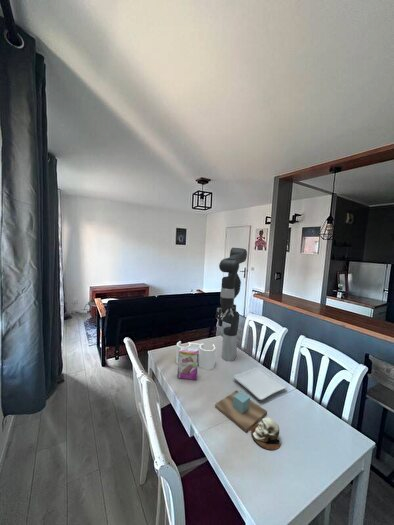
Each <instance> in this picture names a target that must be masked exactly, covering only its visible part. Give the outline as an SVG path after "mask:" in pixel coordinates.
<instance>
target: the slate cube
mask: <svg viewBox="0 0 394 525" xmlns="http://www.w3.org/2000/svg"><path fill="white" fill-rule="evenodd" d="M250 400H251V397H250V396H249V395H248V394H246V393H244V392H243V391H238V393H237V394H235V395H234V396H233V407H234V408H235V409H236V410H238V411H239V412H240V413H241V414H243V413H244V412H245V411H246V410H248V409H249V405H250Z"/></svg>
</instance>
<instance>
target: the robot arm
mask: <svg viewBox="0 0 394 525" xmlns="http://www.w3.org/2000/svg"><path fill="white" fill-rule="evenodd" d="M247 257H248V252H247V249H246V248H243V247H232V248H230V251H229V257H225V258H223V259H221V260H220V262H219V263H218V264H219V265H218V268H219V271H221V272H222V273H227V276H224V277H222V278H221V288H220V297H219V298H220V299H219V300H220V301H219V302H220V303H219V304H220V307H216V311H215V319H217V320H218V322H217V324H218V326H219V327H223V323H226V324H229V325H230V326H226V327H224V328H223V330H222V331H223V333H222V334H223V335H222V346H221V347H222V349H221V358H222V359H223V360H224V361H227V362H233V361H235V360H236V358H237V351H238V350H237V349H238V344H237V342H238V341H237V340H238V331H239V323H240V312H239V311H237V305H236V304H235V299H236V298H237V296H238V295H239V293H240V291H241V284H242V281H241V278H240V276H239V274H238V271H239V269H240V264H242V263H244V262H246V261H247Z"/></svg>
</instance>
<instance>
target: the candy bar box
mask: <svg viewBox="0 0 394 525" xmlns="http://www.w3.org/2000/svg"><path fill="white" fill-rule="evenodd" d="M198 356H199V350H198V349H189V348H180V350H179V359H178V364H177V379H183V380H190V381H191V380H192V381H197V378H198V370H199V369H198V368H199V365H198Z"/></svg>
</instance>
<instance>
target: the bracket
mask: <svg viewBox="0 0 394 525" xmlns="http://www.w3.org/2000/svg"><path fill="white" fill-rule="evenodd" d="M211 346H212V347H211V348H212V349H205V348H204V342H202V343H195V342H191V341H188V343H187V346H182V341H181V340H179V341H178V342H177V343H176V349H175V350H176V351H175V352H176V354H175V356H176V357H175V363H176V365H178V359H179V350H180V348H189V349H198V350H199V356H198V368H200V369H203V370H208V371H209V370H212V369H214V368H215V366H216V365H215V364H216V346H215V344H214V343H213V344H212V345H211Z"/></svg>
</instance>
